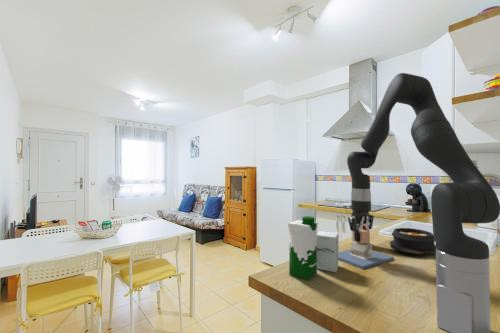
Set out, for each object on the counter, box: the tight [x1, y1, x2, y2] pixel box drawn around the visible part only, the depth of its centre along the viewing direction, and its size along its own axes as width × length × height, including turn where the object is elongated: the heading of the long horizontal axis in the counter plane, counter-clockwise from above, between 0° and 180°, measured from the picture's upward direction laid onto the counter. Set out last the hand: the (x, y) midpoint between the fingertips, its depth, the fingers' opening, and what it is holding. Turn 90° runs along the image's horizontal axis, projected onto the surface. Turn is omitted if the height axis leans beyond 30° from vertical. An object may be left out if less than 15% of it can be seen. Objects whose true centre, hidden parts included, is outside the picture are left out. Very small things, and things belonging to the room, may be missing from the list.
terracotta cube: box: [353, 229, 371, 244], centre depth 100 cm, size 4×4×4 cm
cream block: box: [350, 241, 373, 259], centre depth 100 cm, size 5×6×5 cm
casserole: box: [389, 227, 436, 255], centre depth 110 cm, size 25×19×8 cm
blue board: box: [338, 249, 395, 270], centre depth 99 cm, size 20×15×1 cm
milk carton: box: [287, 216, 319, 281], centre depth 84 cm, size 9×9×20 cm
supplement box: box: [317, 230, 340, 273], centre depth 90 cm, size 7×7×13 cm
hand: (361, 240), depth 100 cm, fingers closed on terracotta cube, 4 cm apart
